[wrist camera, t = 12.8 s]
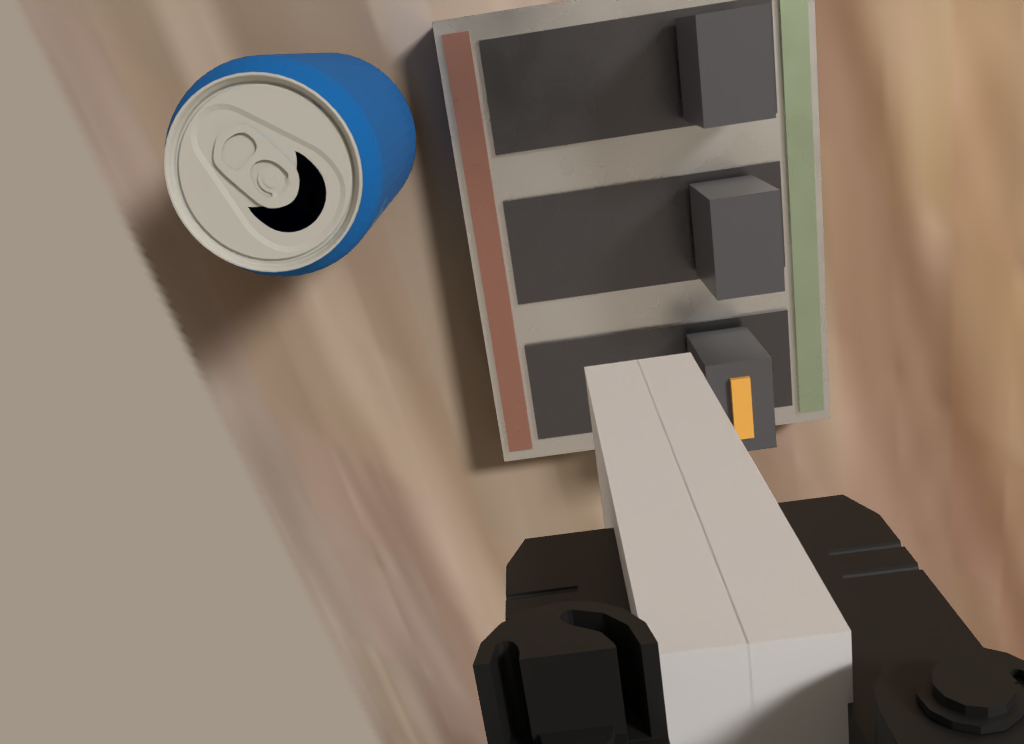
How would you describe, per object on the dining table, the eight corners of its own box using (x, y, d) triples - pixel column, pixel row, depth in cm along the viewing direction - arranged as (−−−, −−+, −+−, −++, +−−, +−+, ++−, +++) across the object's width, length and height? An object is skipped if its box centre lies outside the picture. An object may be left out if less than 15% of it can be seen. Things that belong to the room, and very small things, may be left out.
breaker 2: (689, 183, 36) (709, 200, 32) (751, 174, 35) (780, 189, 32) (696, 274, 37) (717, 300, 33) (757, 265, 37) (785, 291, 33)
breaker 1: (675, 18, 34) (695, 14, 30) (741, 8, 33) (770, 3, 30) (683, 120, 35) (704, 128, 31) (747, 110, 35) (776, 117, 31)
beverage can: (347, 248, 39) (280, 330, 28) (225, 140, 38) (102, 180, 26) (451, 133, 38) (424, 171, 26) (327, 16, 36) (243, 2, 25)
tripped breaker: (686, 334, 38) (706, 367, 34) (745, 326, 37) (772, 358, 33) (693, 416, 39) (713, 458, 35) (751, 408, 39) (777, 449, 35)
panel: (436, 23, 36) (431, 21, 34) (797, -34, 35) (814, -40, 33) (504, 443, 42) (504, 463, 40) (815, 401, 41) (831, 419, 39)
